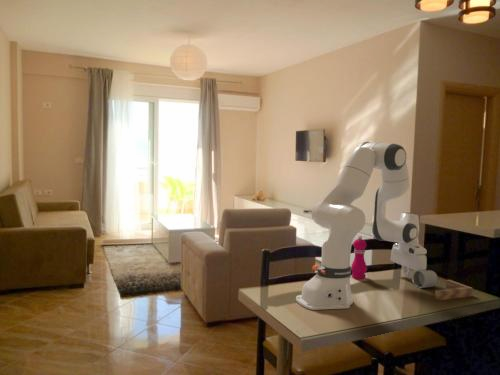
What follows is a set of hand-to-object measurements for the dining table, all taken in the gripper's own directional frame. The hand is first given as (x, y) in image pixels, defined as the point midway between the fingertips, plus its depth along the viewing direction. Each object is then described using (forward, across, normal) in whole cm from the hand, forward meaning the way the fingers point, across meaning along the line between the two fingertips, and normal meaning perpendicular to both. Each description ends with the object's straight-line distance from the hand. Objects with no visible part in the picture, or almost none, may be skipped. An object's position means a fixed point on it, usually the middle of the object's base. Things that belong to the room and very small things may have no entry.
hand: (406, 275), depth 192 cm
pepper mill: (+2, -10, -20) cm, 22 cm away
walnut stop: (+2, +21, +1) cm, 21 cm away
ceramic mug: (+2, +10, 0) cm, 10 cm away
